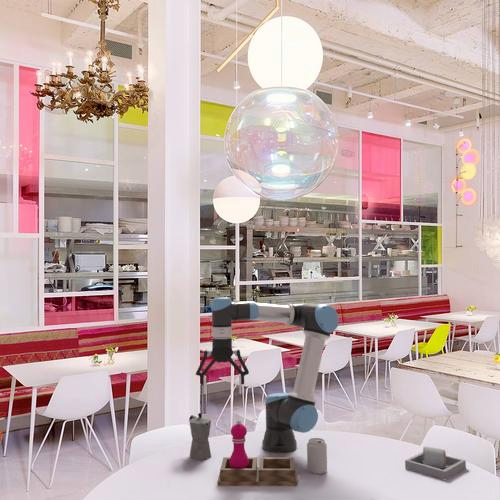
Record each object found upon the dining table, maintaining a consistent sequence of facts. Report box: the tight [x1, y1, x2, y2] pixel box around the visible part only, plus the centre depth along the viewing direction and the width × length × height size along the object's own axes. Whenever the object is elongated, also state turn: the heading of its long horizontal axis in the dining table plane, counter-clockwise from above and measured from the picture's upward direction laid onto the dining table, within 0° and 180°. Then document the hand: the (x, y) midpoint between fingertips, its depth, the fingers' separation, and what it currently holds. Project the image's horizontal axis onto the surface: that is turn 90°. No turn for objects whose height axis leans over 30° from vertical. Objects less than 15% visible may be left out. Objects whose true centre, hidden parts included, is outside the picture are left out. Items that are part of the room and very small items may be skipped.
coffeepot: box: [188, 412, 212, 461], centre depth 221 cm, size 15×9×18 cm, turn 35°
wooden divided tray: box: [217, 456, 299, 487], centre depth 196 cm, size 29×14×6 cm, turn 88°
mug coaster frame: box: [404, 451, 467, 481], centre depth 204 cm, size 16×16×3 cm
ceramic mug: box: [422, 446, 447, 470], centre depth 206 cm, size 11×8×8 cm
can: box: [306, 437, 328, 475], centre depth 202 cm, size 8×8×12 cm
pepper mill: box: [229, 419, 249, 469], centre depth 197 cm, size 7×7×20 cm
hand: (222, 393), depth 202 cm, fingers open, 13 cm apart
